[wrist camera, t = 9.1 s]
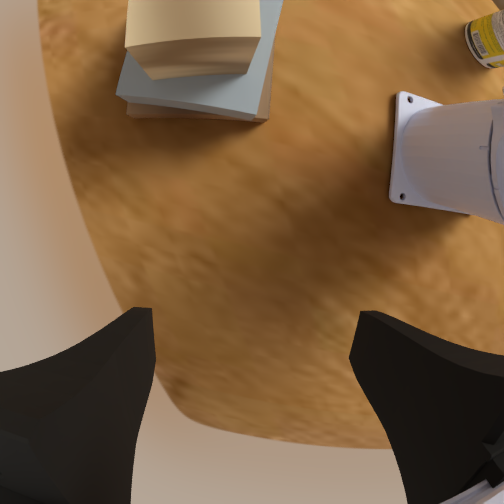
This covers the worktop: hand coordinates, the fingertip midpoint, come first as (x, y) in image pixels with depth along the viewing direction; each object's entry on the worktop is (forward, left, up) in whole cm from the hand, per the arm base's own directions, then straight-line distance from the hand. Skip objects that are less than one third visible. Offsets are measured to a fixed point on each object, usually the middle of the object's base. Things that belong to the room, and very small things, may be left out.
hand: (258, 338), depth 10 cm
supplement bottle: (-20, -20, -11) cm, 30 cm away
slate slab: (+3, -12, -9) cm, 15 cm away
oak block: (+3, -12, -6) cm, 14 cm away
